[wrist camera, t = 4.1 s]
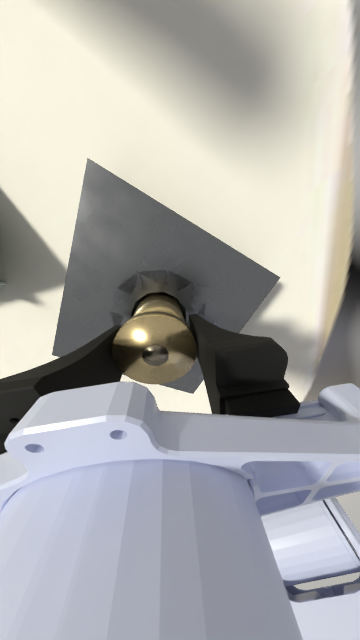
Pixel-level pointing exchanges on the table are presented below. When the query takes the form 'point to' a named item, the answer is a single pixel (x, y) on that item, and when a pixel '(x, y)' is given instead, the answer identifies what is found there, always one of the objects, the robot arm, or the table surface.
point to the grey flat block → (149, 268)
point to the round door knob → (155, 341)
